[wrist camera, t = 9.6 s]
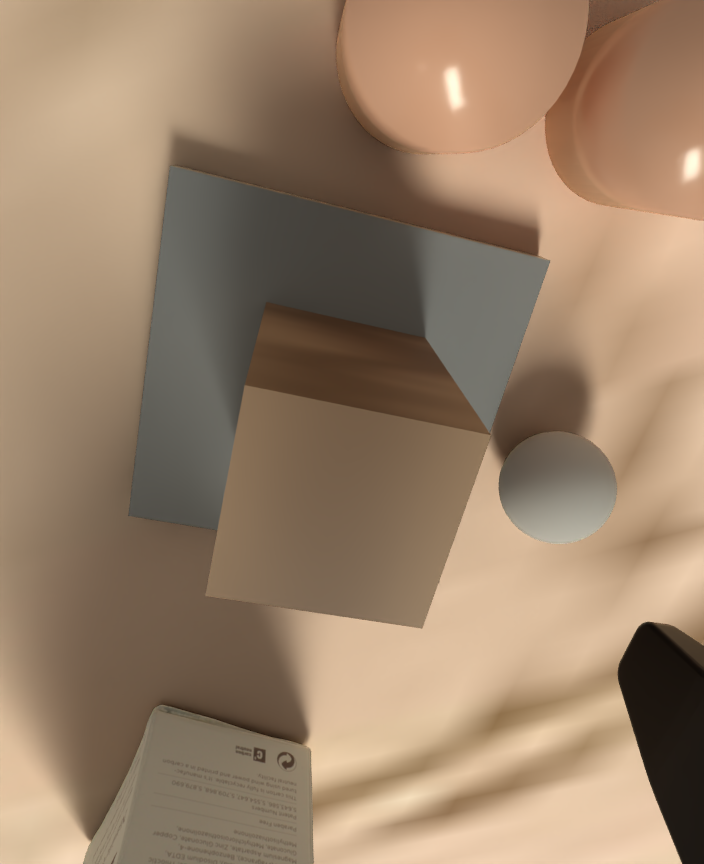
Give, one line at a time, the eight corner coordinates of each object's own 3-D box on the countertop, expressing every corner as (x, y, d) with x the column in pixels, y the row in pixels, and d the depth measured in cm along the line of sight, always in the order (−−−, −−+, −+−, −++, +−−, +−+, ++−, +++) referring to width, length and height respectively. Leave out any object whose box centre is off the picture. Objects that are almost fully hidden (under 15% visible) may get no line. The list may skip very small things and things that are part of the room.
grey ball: (565, 515, 19) (609, 575, 16) (472, 497, 19) (502, 556, 16) (603, 425, 18) (658, 473, 15) (505, 404, 17) (543, 450, 15)
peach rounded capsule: (669, 223, 16) (779, 242, 12) (521, 183, 15) (590, 191, 12) (743, 43, 14) (894, 3, 11) (582, -9, 14) (683, -70, 10)
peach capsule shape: (483, 172, 15) (540, 177, 11) (318, 129, 14) (323, 120, 11) (540, -24, 13) (627, -91, 10) (359, -81, 13) (381, -175, 9)
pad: (437, 551, 19) (442, 568, 18) (135, 501, 18) (127, 516, 17) (539, 256, 16) (551, 260, 15) (176, 164, 14) (169, 165, 14)
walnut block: (425, 337, 16) (491, 435, 10) (384, 477, 17) (422, 628, 12) (266, 302, 15) (244, 385, 10) (237, 450, 16) (204, 595, 11)
